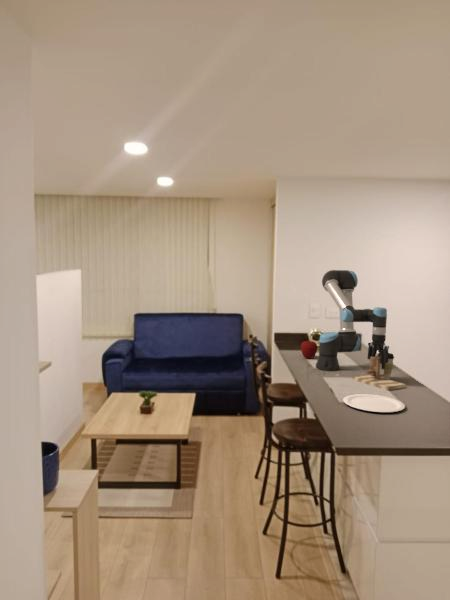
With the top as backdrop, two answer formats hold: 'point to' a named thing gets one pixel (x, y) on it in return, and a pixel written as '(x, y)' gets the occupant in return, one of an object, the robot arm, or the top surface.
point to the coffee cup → (388, 366)
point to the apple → (308, 349)
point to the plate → (374, 403)
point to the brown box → (375, 367)
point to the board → (379, 382)
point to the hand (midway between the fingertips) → (376, 372)
